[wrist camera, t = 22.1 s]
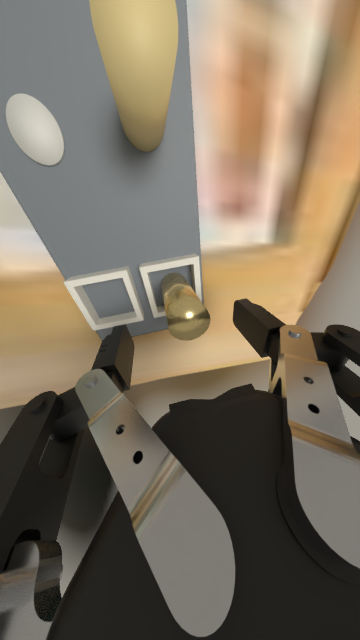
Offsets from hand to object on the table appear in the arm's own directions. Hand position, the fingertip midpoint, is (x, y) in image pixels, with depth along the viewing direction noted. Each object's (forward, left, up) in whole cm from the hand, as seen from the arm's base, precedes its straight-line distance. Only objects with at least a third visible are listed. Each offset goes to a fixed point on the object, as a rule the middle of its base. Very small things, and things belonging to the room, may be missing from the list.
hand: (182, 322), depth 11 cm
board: (-3, +6, -9) cm, 11 cm away
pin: (0, 0, -7) cm, 7 cm away
